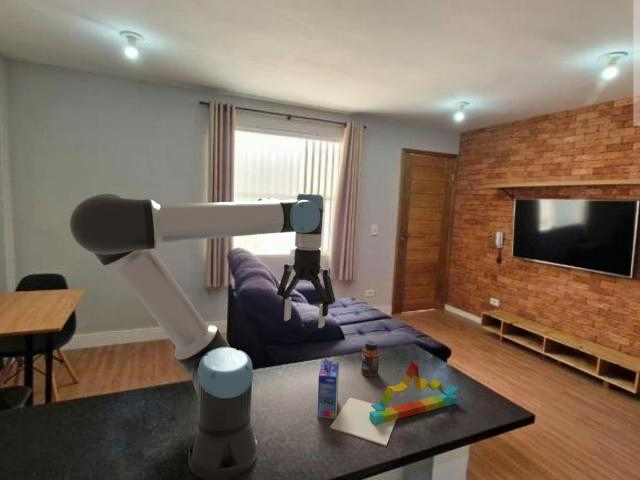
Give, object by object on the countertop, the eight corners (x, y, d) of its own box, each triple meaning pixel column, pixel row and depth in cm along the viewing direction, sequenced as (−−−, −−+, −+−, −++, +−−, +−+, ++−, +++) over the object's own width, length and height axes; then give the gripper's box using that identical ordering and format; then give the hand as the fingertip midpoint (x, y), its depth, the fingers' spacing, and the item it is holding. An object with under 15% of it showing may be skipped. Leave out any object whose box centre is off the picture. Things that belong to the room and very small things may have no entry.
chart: (448, 397, 111) (453, 352, 109) (456, 403, 108) (462, 356, 106) (368, 418, 97) (373, 366, 95) (375, 425, 94) (380, 372, 92)
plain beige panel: (330, 427, 92) (330, 426, 92) (349, 398, 107) (349, 397, 107) (386, 446, 87) (386, 444, 87) (398, 412, 101) (398, 411, 101)
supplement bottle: (380, 372, 125) (383, 342, 124) (374, 379, 120) (376, 347, 119) (365, 367, 128) (367, 338, 127) (358, 374, 123) (360, 343, 122)
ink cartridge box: (319, 398, 107) (322, 352, 105) (337, 400, 106) (340, 354, 105) (315, 417, 97) (318, 367, 95) (335, 419, 96) (339, 369, 95)
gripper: (350, 251, 99) (345, 326, 101) (279, 243, 108) (276, 312, 110) (340, 253, 92) (335, 334, 95) (266, 245, 101) (263, 319, 104)
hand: (304, 323), depth 103 cm, fingers open, 10 cm apart
